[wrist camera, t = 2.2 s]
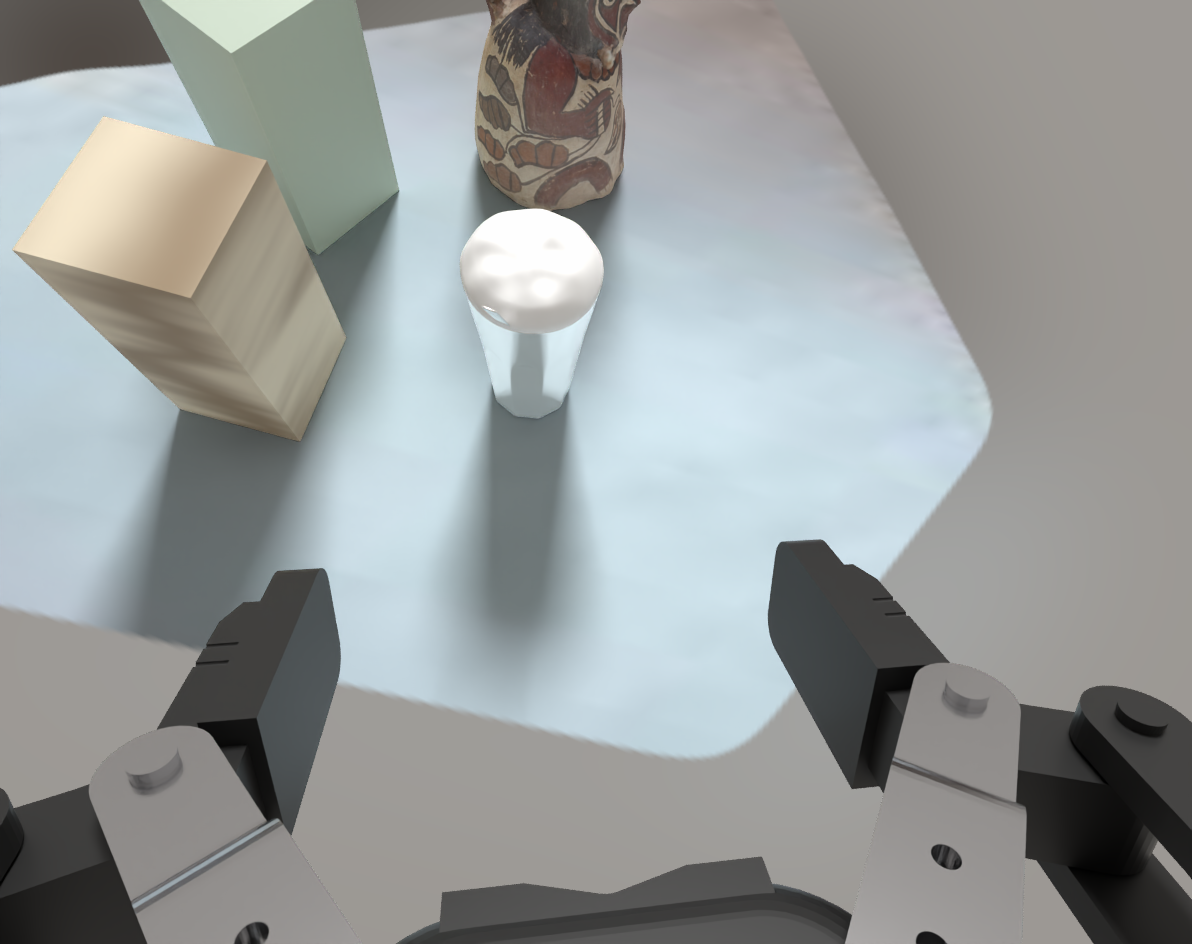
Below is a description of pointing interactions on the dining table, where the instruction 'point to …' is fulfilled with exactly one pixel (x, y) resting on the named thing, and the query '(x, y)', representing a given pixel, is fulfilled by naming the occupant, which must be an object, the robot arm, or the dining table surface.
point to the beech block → (191, 274)
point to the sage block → (287, 100)
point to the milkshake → (531, 303)
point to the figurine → (552, 100)
